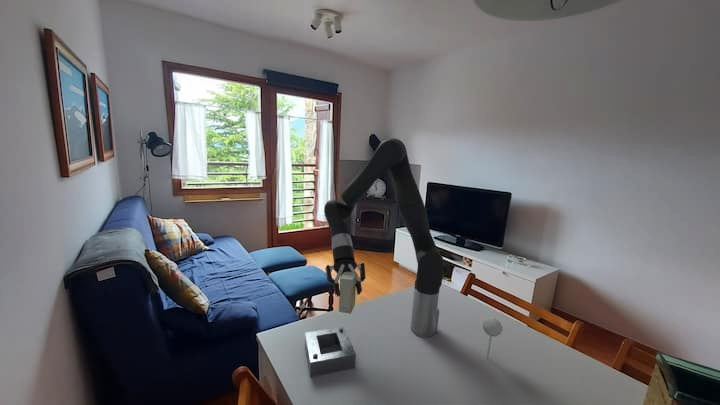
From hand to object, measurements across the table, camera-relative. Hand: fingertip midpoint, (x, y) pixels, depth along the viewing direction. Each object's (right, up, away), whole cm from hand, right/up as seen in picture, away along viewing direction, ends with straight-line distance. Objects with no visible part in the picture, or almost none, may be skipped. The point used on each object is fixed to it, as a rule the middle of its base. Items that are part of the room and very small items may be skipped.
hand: (348, 294), depth 92 cm
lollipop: (+47, -23, +2) cm, 52 cm away
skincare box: (-1, -6, +3) cm, 6 cm away
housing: (-7, -20, -1) cm, 21 cm away
